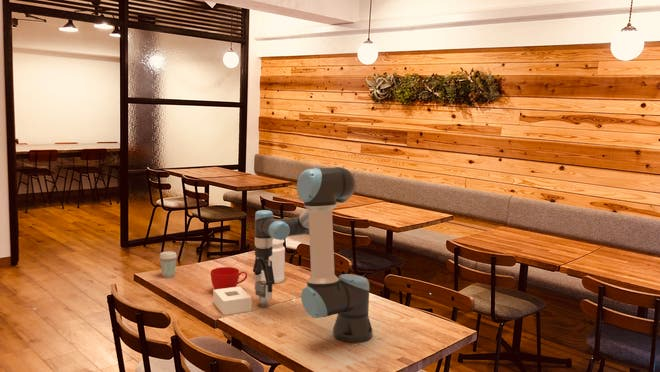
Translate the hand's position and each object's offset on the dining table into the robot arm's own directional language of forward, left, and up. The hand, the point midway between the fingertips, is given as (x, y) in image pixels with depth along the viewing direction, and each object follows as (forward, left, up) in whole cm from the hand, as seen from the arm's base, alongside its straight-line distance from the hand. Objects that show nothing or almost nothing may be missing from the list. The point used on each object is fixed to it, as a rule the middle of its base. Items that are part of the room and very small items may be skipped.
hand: (263, 294), depth 251 cm
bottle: (+33, -16, -5) cm, 37 cm away
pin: (0, 0, -5) cm, 5 cm away
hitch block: (+3, +13, -5) cm, 14 cm away
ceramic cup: (+24, +8, -5) cm, 26 cm away
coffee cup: (+58, +29, -5) cm, 65 cm away
